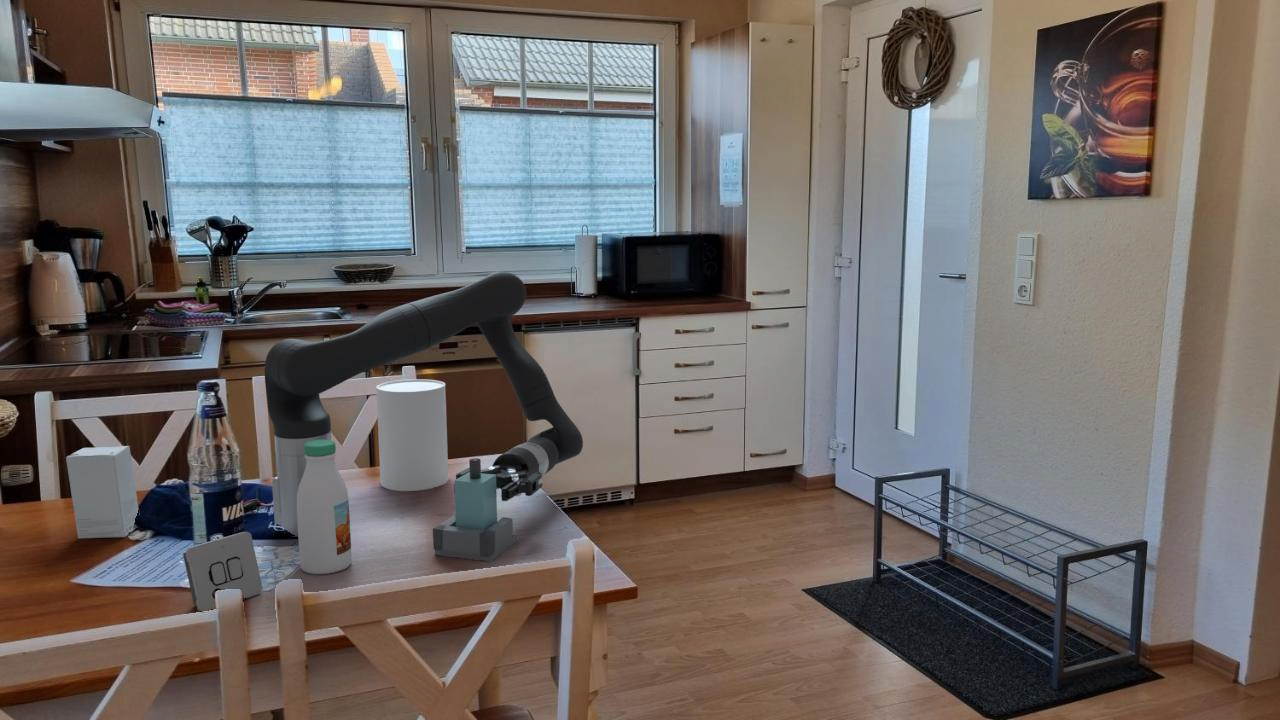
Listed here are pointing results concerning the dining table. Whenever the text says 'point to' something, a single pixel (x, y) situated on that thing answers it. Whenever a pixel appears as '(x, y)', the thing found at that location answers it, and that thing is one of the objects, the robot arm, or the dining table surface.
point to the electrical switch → (222, 568)
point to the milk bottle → (323, 512)
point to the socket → (473, 540)
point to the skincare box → (103, 491)
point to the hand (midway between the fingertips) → (480, 492)
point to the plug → (475, 498)
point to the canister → (412, 434)
